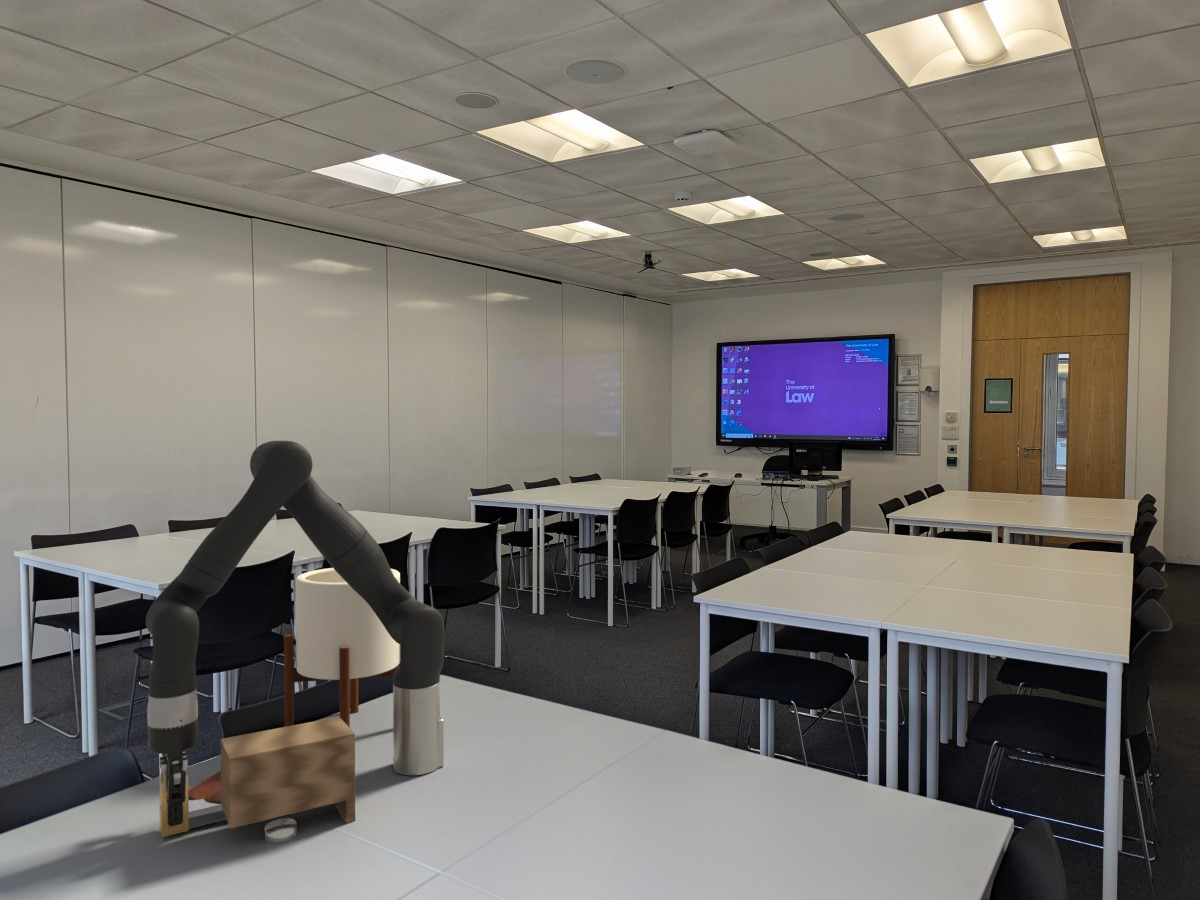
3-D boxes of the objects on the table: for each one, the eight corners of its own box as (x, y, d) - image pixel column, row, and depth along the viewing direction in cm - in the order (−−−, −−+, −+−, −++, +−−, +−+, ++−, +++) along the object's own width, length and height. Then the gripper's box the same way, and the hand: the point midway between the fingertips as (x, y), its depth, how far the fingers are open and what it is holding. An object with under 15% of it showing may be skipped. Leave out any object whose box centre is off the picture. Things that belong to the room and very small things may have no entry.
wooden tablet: (227, 807, 146) (227, 798, 146) (179, 802, 148) (179, 793, 148) (308, 750, 172) (308, 742, 172) (266, 746, 174) (266, 739, 174)
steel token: (293, 827, 138) (293, 815, 138) (299, 839, 134) (299, 827, 134) (262, 834, 135) (262, 823, 135) (267, 847, 131) (267, 835, 131)
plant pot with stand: (421, 725, 185) (420, 571, 185) (343, 758, 166) (342, 587, 166) (354, 707, 197) (354, 563, 196) (275, 736, 178) (274, 576, 177)
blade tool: (289, 796, 147) (289, 748, 147) (294, 805, 144) (294, 755, 144) (159, 827, 136) (159, 774, 136) (161, 837, 133) (161, 783, 132)
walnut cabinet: (339, 798, 148) (339, 716, 148) (355, 820, 140) (354, 733, 139) (221, 827, 137) (220, 738, 137) (230, 853, 129) (229, 758, 129)
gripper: (203, 726, 131) (204, 830, 131) (193, 702, 143) (194, 797, 143) (150, 736, 127) (151, 843, 127) (144, 710, 139) (145, 808, 139)
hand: (174, 818), depth 135 cm, fingers closed on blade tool, 4 cm apart
